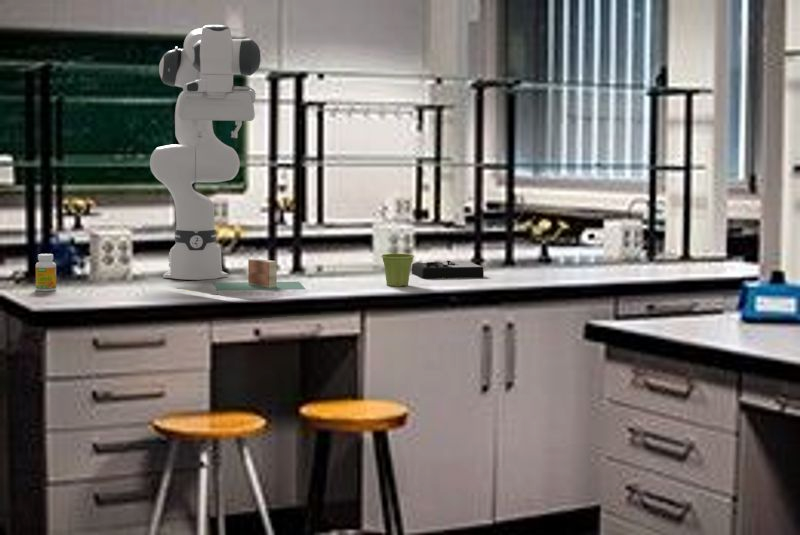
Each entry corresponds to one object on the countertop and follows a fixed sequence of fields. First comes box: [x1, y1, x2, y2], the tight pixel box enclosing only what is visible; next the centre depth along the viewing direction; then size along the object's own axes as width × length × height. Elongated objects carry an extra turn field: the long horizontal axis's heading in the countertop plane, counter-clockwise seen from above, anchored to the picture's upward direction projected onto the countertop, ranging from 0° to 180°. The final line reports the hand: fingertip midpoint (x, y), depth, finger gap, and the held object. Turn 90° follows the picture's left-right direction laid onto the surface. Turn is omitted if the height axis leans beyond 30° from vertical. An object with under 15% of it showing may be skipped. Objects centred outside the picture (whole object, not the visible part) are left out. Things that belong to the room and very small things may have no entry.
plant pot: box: [380, 253, 415, 288], centre depth 370 cm, size 9×9×9 cm
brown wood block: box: [247, 258, 278, 288], centre depth 357 cm, size 9×3×7 cm, turn 46°
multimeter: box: [411, 260, 485, 280], centre depth 395 cm, size 13×19×5 cm
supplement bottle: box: [35, 253, 57, 292], centre depth 351 cm, size 5×5×10 cm
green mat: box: [213, 281, 306, 296], centre depth 357 cm, size 16×24×1 cm, turn 101°
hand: (216, 137), depth 349 cm, fingers open, 8 cm apart
